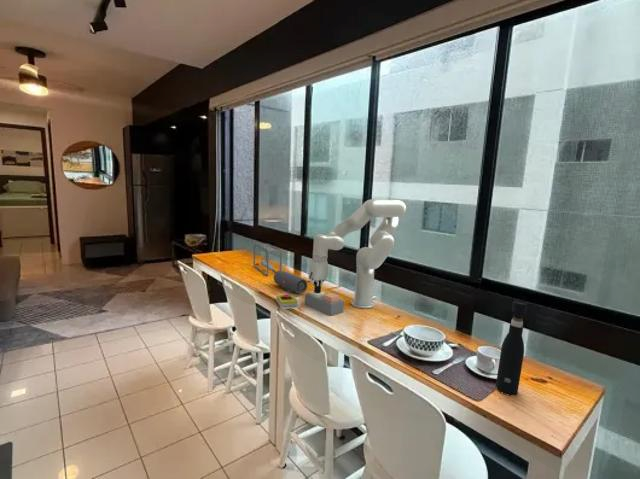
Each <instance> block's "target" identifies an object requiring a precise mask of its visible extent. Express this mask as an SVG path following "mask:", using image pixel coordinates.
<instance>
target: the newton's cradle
mask: <svg viewBox="0 0 640 479" xmlns="http://www.w3.org/2000/svg"><path fill="white" fill-rule="evenodd" d="M256 247H258V248H260V252H261V253H262V255H263V257H262V260H261V261H260V265H256ZM263 251H264V252H263ZM271 251H273V252H280V255H279V256H280V257H279V259H280V260H279V271H282V262H283V251H282V249H280V248H278V247H277V246H274V245H272V244H270V243H254V245H253V261H252V262H253V263H252V264H253V267H254V268H255V269H256V270H257V271H259V272H260V273H261V274H263V275H264V277H265V276H266V277H268V276H269V271H273V272H274V273H273V274H272V276H274V275H275V273H276V272H277V271H278V270H275V269H274V266H273V265H272V262H271V261H273V259H274V258H272V259H271V257H270V256H272V254H273V256H275V255H274V254H275V253H271ZM270 254H271V255H270ZM264 258H265V259H264ZM260 267H261V268H262V267H264V268H266V272H264V271H263V270H261V269H260Z"/></svg>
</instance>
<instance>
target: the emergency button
mask: <svg viewBox="0 0 640 479" xmlns="http://www.w3.org/2000/svg"><path fill="white" fill-rule="evenodd" d="M275 302H276V303H277V304H278V306H279V307H280V309H282V310H288V309H299V308H300V307H299V305H298V300H297V299H296V297H295V296H294V295H293V294H283V295H279V294H278V295H276V298H275Z"/></svg>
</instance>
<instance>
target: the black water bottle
mask: <svg viewBox="0 0 640 479" xmlns="http://www.w3.org/2000/svg"><path fill="white" fill-rule="evenodd" d="M527 307H528V303H526V302H525V301H521V300H513V301H512V308H511V312H512V313H513V315H512V319H511V320H510V321H511V322H510V324H509V329H508V332H507V334H506V336H505V337H504V340H503V341H502V345H501V348H500V356H499V361H498V367H497V373H496V379H495V380H496V381H495V388H496V387H497V389H498V390H499V391H501V392H503V393H506V394H509V395H508V396H511V395H515V396H517V395H518V391H519V386H520V380H521V379H520V378H521V373H522V368H523V364H524V363H523V362H524V358H525V357H524V355H525V345H524V339H523V331H524V327H523V326H524V325H523V324H524V321H523V319H524V318H523V317H524V315H527V314H526V313H527ZM497 389H496V390H497ZM498 390H497V391H498ZM499 391H498V392H499ZM501 392H500V393H501ZM503 393H502V394H503ZM506 394H505V395H506ZM516 394H517V395H516Z"/></svg>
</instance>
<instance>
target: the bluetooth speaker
mask: <svg viewBox="0 0 640 479" xmlns="http://www.w3.org/2000/svg"><path fill="white" fill-rule="evenodd" d="M276 271H277V272H276V273H275V272H274V274H275V275H273V280H274V283H275V284H277V285H279V286H280V287H282V289H284V290H285V291H288V292H289V293H293V292H294V293H299V294H304V293H305V292H306V291H307V289H308V282H307V280H306V279H304V278H302V277H300V276H298V275H296V274H294V273H291V272H287V271H286V270H285V271H284V270H281V271H280V270H276Z"/></svg>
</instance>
